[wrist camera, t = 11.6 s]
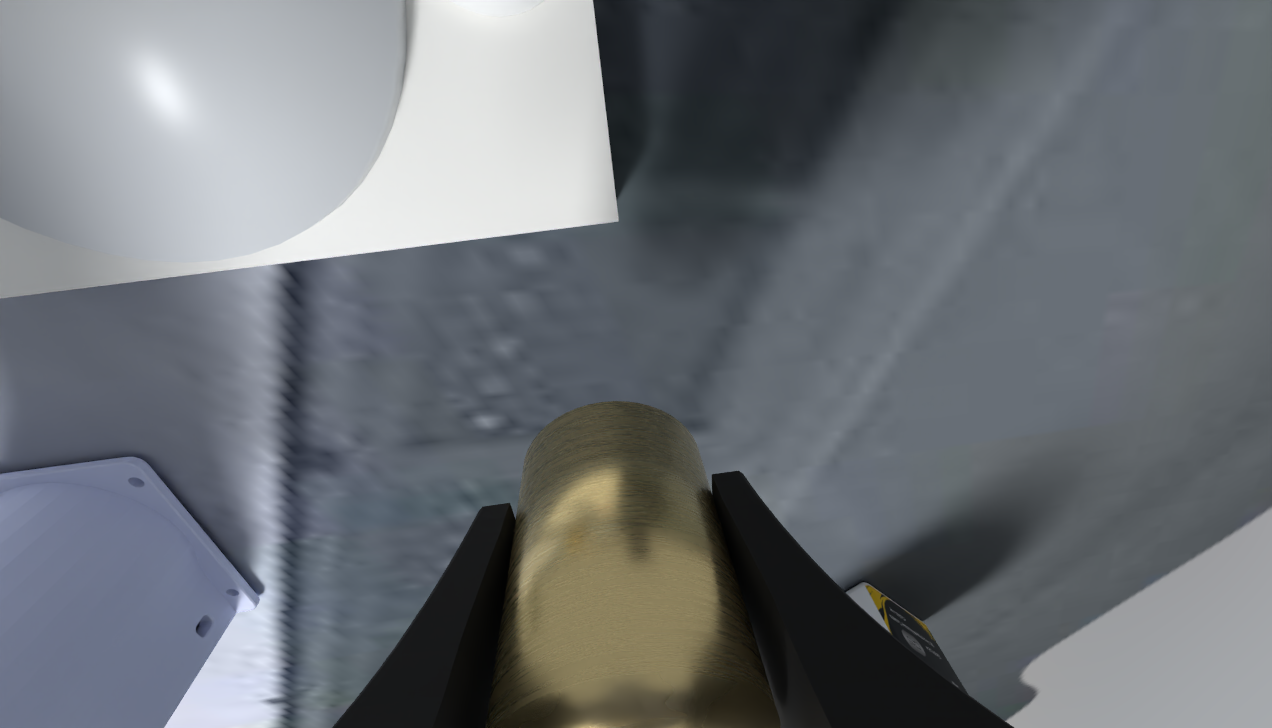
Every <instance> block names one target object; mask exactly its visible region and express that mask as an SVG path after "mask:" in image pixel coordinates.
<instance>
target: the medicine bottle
mask: <svg viewBox="0 0 1272 728" xmlns="http://www.w3.org/2000/svg"><path fill="white" fill-rule="evenodd" d="M845 593H846V594H847V595H848V596H850V597H851V598H852V599H853V600H854V601H855V602H856V603H857V604H858V605H859V606H860V607H861V608H862V609H864V610H865V611H866V612H867V613H868V614H869V615H870V616H871V617H872V618H873V619H875V620H876V621H877V622H878V623H879V624H880V625H881V626H883V627H884V628H885V629H886V630H887V631H888V632H890V633H891V634H892V635H893V636H894V637H895V638H897V639H898V640H899V641H900V642H901V643H902V644H904V645H905V646H906V647H907V648H908V649H910V650H911V651H912V652H914V653H915V654H916V655H917V656H919V657H920V658H921V659H923V660H924V661H925V662H926V663H928V664H929V665H930V666H931V667H933V668H934V669H935V670H937V671H938V672H939V673H940V674H942V675H943V676H944V677H946V678H947V679H948V680H949V681H951V682H952V683H953V684H954V685H956V686H957V687H958V688H960V689H961V690H962V691H964V692H965V693H966V694H968V693H967V692H966V690H965V689H964V687H963V685H962V684H961V682H960V680H959V679H958V677H957V675H956V674H955V672H954V671H953V669H952V667H951V666H950V664H949V662H948V661H947V659H946V657H945V656H944V654H943V652H942V651H941V649H940V648H939V646H938V644H937V643H936V641H935V639H934V638H933V636H932V634H931V633H930V631H929V630H928V628H927V626H926V625H925V624H924V623H923V622H922V621H921V620H919V619H918V618H916V617H915V616H914V615H912V614H911V613H909V612H908V611H907V610H905V609H904V608H902V607H901V606H899V605H898V604H897V603H895V602H894V601H892V600H891V599H890V598H888V597H887V596H885V595H884V594H883V593H881V592H880V591H878V590H877V589H875V588H874V587H873V586H871V585H870V584H868V583H865V582H862V583H860V584H858V585H857V586H855V587H853V588H852V589H850V590H848V591H847V592H845Z"/></svg>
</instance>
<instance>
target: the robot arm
mask: <svg viewBox="0 0 1272 728" xmlns="http://www.w3.org/2000/svg"><path fill="white" fill-rule="evenodd" d="M712 496H713V500H714V503H715V506H716V510H717V513H718V516H719V520H720V523H721V526H722V529H723V533H724V536H725V539H726V543H727V546H728V549H729V553H730V556H731V559H732V563H733V566H734V569H735V573H736V576H737V579H738V582H739V586H740V589H741V592H742V596H743V599H744V602H745V606H746V609H747V612H748V616H749V619H750V622H751V626H752V629H753V632H754V636H755V639H756V642H757V645H758V649H759V652H760V655H761V659H762V662H763V665H764V669H765V672H766V675H767V679H768V682H769V685H770V689H771V692H772V695H773V698H774V702H775V705H776V708H777V712H778V715H779V718H780V728H1014V727H1012V726H1011V725H1010V724H1008V723H1007V722H1005V721H1004V720H1002V719H1001V718H1000V717H998V716H997V715H995V714H994V713H993V712H991V711H990V710H988V709H987V708H986V707H984V706H983V705H982V704H980V703H979V702H977V701H976V700H975V699H973V698H972V697H970V696H969V695H968V694H966V693H965V692H964V691H962V690H961V689H960V688H958V687H957V686H956V685H954V684H953V683H952V682H951V681H949V680H948V679H947V678H946V677H944V676H943V675H942V674H940V673H939V672H938V671H937V670H935V669H934V668H933V667H931V666H930V665H929V664H928V663H926V662H925V661H924V660H923V659H921V658H920V657H919V656H917V655H916V654H915V653H914V652H912V651H911V650H910V649H908V648H907V647H906V646H905V645H904V644H902V643H901V642H900V641H899V640H898V639H897V638H895V637H894V636H893V635H892V634H891V633H890V632H888V631H887V630H886V629H885V628H884V627H883V626H881V625H880V624H879V623H878V622H877V621H876V620H875V619H873V618H872V617H871V616H870V615H869V614H868V613H867V612H866V611H865V610H864V609H862V608H861V607H860V606H859V605H858V604H857V603H856V602H855V601H854V600H853V599H852V598H851V597H850V596H848V595H847V594H846V593H845V592H844V591H843V590H842V589H841V588H840V587H839V586H838V585H837V584H836V583H835V582H834V581H833V580H832V579H831V578H830V577H829V576H828V575H827V574H826V573H825V572H824V571H823V570H822V569H821V568H820V567H819V566H818V564H817V563H816V562H815V561H814V560H813V559H812V558H811V557H810V556H809V555H808V554H807V553H806V552H805V551H804V549H803V548H802V547H801V546H800V545H799V544H798V543H797V541H796V540H795V539H794V538H793V537H792V536H791V535H790V534H789V532H788V531H787V530H786V529H785V528H784V527H783V525H782V524H781V523H780V522H779V521H778V520H777V518H776V517H775V516H774V515H773V513H772V512H771V511H770V510H769V508H768V507H767V506H766V505H765V503H764V502H763V501H762V499H761V498H760V497H759V496H758V494H757V493H756V492H755V490H754V489H753V487H752V486H751V485H750V483H749V482H748V480H747V479H746V478H745V476H744V475H743V474H742V473H741V472H740V471H733V472H726V473H719V474H712ZM515 522H516V520H515V517H514V514H513V511H512V508H511V505H510V503H506V504H499V505H492V506H485V507H482V508H481V509H480V510H479V512H478V514H477V516H476V518H475V519H474V521H473V523H472V525H471V527H470V528H469V530H468V532H467V534H466V536H465V537H464V539H463V541H462V543H461V545H460V546H459V548H458V550H457V551H456V553H455V555H454V557H453V558H452V560H451V562H450V564H449V565H448V567H447V568H446V570H445V572H444V573H443V575H442V577H441V578H440V580H439V581H438V583H437V585H436V586H435V588H434V590H433V591H432V593H431V594H430V596H429V598H428V599H427V601H426V602H425V604H424V605H423V607H422V608H421V610H420V611H419V613H418V614H417V616H416V617H415V619H414V620H413V622H412V623H411V625H410V626H409V628H408V629H407V631H406V632H405V634H404V635H403V637H402V638H401V639H400V641H399V642H398V644H397V645H396V647H395V648H394V649H393V651H392V652H391V654H390V655H389V656H388V658H387V659H386V660H385V662H384V663H383V664H382V666H381V667H380V669H379V670H378V671H377V673H376V674H375V675H374V676H373V678H372V679H371V680H370V682H369V683H368V684H367V685H366V687H365V688H364V689H363V691H362V692H361V693H360V695H359V696H358V697H357V698H356V700H355V701H354V702H353V703H352V704H351V706H350V707H349V708H348V709H347V710H346V712H345V713H344V714H343V715H342V717H341V718H340V719H339V720H338V721H337V723H336V724H335V725H334V726H333V727H332V728H486V722H487V715H488V708H489V701H490V694H491V688H492V681H493V674H494V667H495V660H496V653H497V646H498V639H499V632H500V625H501V619H502V612H503V605H504V598H505V591H506V584H507V577H508V570H509V563H510V556H511V550H512V543H513V536H514V529H515ZM259 601H260V599H259V597H258V595H257V594H256V593H255V592H254V591H253V589H252V588H251V587H250V586H249V585H248V583H247V582H246V581H245V580H244V579H243V577H242V576H241V575H240V574H239V573H238V571H237V570H236V569H235V568H234V567H233V565H232V564H231V563H230V562H229V561H228V559H227V558H226V557H225V556H224V555H223V553H222V552H221V551H220V550H219V549H218V547H217V546H216V545H215V544H214V543H213V541H212V540H211V539H210V538H209V537H208V535H207V534H206V533H205V532H204V531H203V529H202V528H201V527H200V526H199V525H198V523H197V522H196V521H195V520H194V519H193V517H192V516H191V515H190V514H189V513H188V511H187V510H186V509H185V508H184V507H183V505H182V504H181V503H180V502H179V501H178V499H177V498H176V497H175V496H174V495H173V493H172V492H171V491H170V490H169V489H168V487H167V486H166V485H165V484H164V483H163V481H162V480H161V479H160V478H159V477H158V475H157V474H156V473H155V472H154V471H153V469H152V468H151V467H150V466H149V465H148V463H146V462H145V461H144V460H142V459H140V458H136V457H121V458H114V459H106V460H99V461H92V462H84V463H77V464H69V465H62V466H54V467H47V468H39V469H32V470H25V471H17V472H10V473H2V474H0V728H164V727H165V725H166V724H167V722H168V720H169V719H170V717H171V716H172V714H173V713H174V711H175V709H176V708H177V706H178V705H179V703H180V701H181V700H182V698H183V697H184V695H185V693H186V692H187V690H188V689H189V687H190V686H191V684H192V682H193V681H194V679H195V678H196V676H197V674H198V673H199V671H200V670H201V668H202V667H203V665H204V663H205V662H206V660H207V659H208V657H209V655H210V654H211V652H212V651H213V649H214V647H215V646H216V644H217V643H218V641H219V640H220V638H221V636H222V635H223V633H224V632H225V630H226V628H227V627H228V625H229V624H230V622H231V620H232V619H233V617H234V616H235V614H236V613H238V612H245V611H250V610H253V609H255V608H256V606H257V605H258V603H259Z"/></svg>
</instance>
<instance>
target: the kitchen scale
mask: <svg viewBox="0 0 1272 728" xmlns="http://www.w3.org/2000/svg"><path fill="white" fill-rule="evenodd" d="M617 221H619V219H618V211H617V202H616V194H615V185H614V177H613V168H612V159H611V151H610V142H609V134H608V125H607V117H606V108H605V99H604V91H603V82H602V74H601V65H600V57H599V48H598V40H597V31H596V22H595V14H594V5H593V0H0V299H1V298H9V297H17V296H25V295H33V294H41V293H49V292H57V291H65V290H73V289H81V288H89V287H97V286H105V285H113V284H121V283H129V282H137V281H145V280H153V279H161V278H169V277H177V276H185V275H193V274H201V273H209V272H217V271H225V270H233V269H241V268H249V267H257V266H265V265H273V264H281V263H289V262H297V261H305V260H313V259H321V258H329V257H337V256H345V255H353V254H361V253H369V252H377V251H385V250H393V249H401V248H409V247H417V246H425V245H433V244H441V243H449V242H457V241H465V240H473V239H481V238H489V237H497V236H505V235H513V234H521V233H529V232H537V231H545V230H553V229H561V228H569V227H577V226H585V225H593V224H601V223H609V222H617Z"/></svg>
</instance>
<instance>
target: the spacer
mask: <svg viewBox="0 0 1272 728" xmlns="http://www.w3.org/2000/svg"><path fill="white" fill-rule="evenodd" d="M486 728H780V718H779V715H778V712H777V708H776V705H775V702H774V698H773V695H772V692H771V689H770V685H769V682H768V679H767V675H766V672H765V669H764V665H763V662H762V659H761V655H760V652H759V649H758V645H757V642H756V639H755V636H754V632H753V629H752V626H751V622H750V619H749V616H748V612H747V609H746V606H745V602H744V599H743V596H742V592H741V589H740V586H739V582H738V579H737V576H736V573H735V569H734V566H733V563H732V559H731V556H730V553H729V549H728V546H727V543H726V539H725V536H724V533H723V529H722V526H721V523H720V520H719V516H718V513H717V510H716V506H715V503H714V500H713V496H712V493H711V490H710V486H709V483H708V480H707V476H706V473H705V470H704V466H703V463H702V460H701V457H700V453H699V450H698V447H697V444H696V442H695V440H694V438H693V436H692V435H691V434H690V432H689V431H688V430H687V428H686V427H685V426H684V425H683V424H682V423H680V422H679V421H678V420H677V419H675V418H674V417H672V416H671V415H669V414H667V413H665V412H664V411H662V410H659V409H657V408H654V407H651V406H648V405H644V404H640V403H633V402H621V401H612V402H601V403H595V404H590V405H586V406H583V407H580V408H577V409H574V410H572V411H570V412H567V413H565V414H563V415H562V416H560V417H558V418H557V419H555V420H554V421H552V422H551V423H550V424H548V425H547V426H546V427H545V428H544V429H543V430H542V431H541V432H540V433H539V434H538V435H537V436H536V438H535V439H534V440H533V442H532V443H531V445H530V447H529V449H528V451H527V454H526V457H525V460H524V467H523V474H522V481H521V487H520V494H519V501H518V508H517V515H516V522H515V529H514V536H513V543H512V550H511V556H510V563H509V570H508V577H507V584H506V591H505V598H504V605H503V612H502V619H501V625H500V632H499V639H498V646H497V653H496V660H495V667H494V674H493V681H492V688H491V694H490V701H489V708H488V715H487V722H486Z"/></svg>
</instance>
